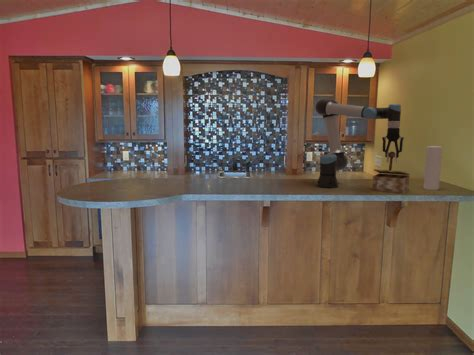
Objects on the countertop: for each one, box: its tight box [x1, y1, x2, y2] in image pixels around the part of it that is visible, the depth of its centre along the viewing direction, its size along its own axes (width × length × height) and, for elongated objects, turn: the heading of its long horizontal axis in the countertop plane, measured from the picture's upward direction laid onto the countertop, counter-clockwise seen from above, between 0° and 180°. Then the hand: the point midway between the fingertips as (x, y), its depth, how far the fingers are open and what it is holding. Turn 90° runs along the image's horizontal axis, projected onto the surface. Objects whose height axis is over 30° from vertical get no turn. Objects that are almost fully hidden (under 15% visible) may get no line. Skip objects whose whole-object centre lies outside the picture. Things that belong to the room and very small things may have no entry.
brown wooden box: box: [371, 173, 410, 194], centre depth 239 cm, size 20×16×10 cm
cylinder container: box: [423, 145, 443, 191], centre depth 241 cm, size 9×9×30 cm
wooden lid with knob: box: [372, 151, 410, 176], centre depth 238 cm, size 20×16×14 cm
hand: (391, 162), depth 235 cm, fingers closed on wooden lid with knob, 4 cm apart
